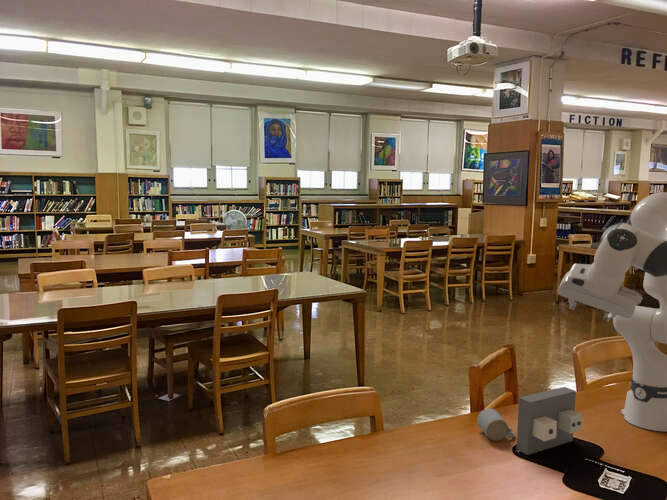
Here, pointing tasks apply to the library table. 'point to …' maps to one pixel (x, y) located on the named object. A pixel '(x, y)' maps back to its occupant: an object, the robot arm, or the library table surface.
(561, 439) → the button panel
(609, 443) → the library table surface
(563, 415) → the two dot button
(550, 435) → the one dot button
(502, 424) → the ceramic mug
